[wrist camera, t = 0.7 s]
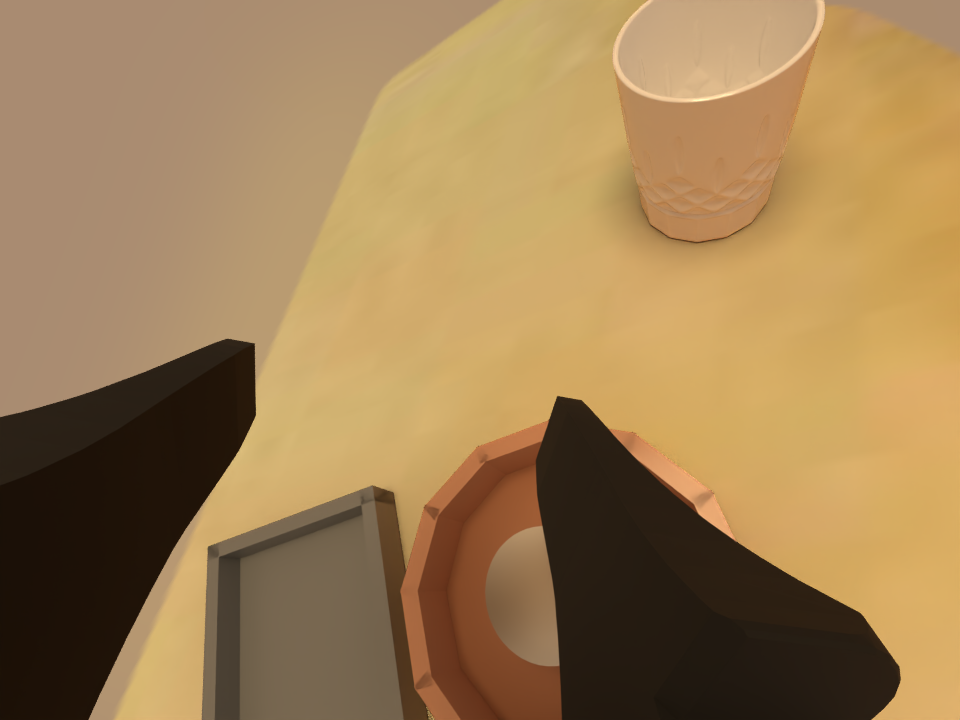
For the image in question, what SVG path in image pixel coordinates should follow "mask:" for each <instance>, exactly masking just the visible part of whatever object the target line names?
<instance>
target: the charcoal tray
mask: <svg viewBox="0 0 960 720" xmlns="http://www.w3.org/2000/svg"><path fill="white" fill-rule="evenodd" d="M405 574H406V573H405V566H404V560H403V553H402V546H401V540H400V533H399V527H398V520H397V514H396V507H395V501H394V494H393V492H390V491H387V490H384V489H381V488H378V487H376V486H370V487H367V488H364V489H362V490H359V491H356V492H354V493H351V494H348V495H346V496H343V497H340V498H338V499H335V500H332V501H329V502H327V503H324V504H321V505H319V506H316V507H313V508H311V509H308V510H305V511H303V512H300V513H297V514H294V515H292V516H289V517H286V518H284V519H281V520H278V521H276V522H273V523H270V524H268V525H265V526H262V527H260V528H257V529H254V530H251V531H249V532H246V533H243V534H241V535H238V536H235V537H233V538H230V539H227V540H225V541H222V542H219V543H216V544H214V545H211V546H208V560H207V588H206V616H205V644H204V672H203V700H202V720H428V716H427V710H426V704H425V703H424V701H423V700H422V698H421V697H420V695H419V694H418V692H417V691H416V690H415V688H414V679H413V672H412V665H411V658H410V652H409V645H408V638H407V631H406V624H405V617H404V610H403V604H402V597H401V593H400V591H401V590H400V589H401V588H402V584H403V581H404V577H405Z"/></svg>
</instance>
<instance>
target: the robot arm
mask: <svg viewBox="0 0 960 720" xmlns="http://www.w3.org/2000/svg"><path fill="white" fill-rule="evenodd" d="M255 416H256V397H255V344H254V343H248V342H243V341H237V340H232V339H225V340H222V341H219V342H216V343H214V344H211V345H208V346H206V347H204V348H201V349H199V350H196V351H194V352H192V353H189V354H187V355H185V356H182V357H180V358H177V359H175V360H173V361H170V362H168V363H166V364H163V365H161V366H158V367H156V368H153V369H151V370H149V371H146V372H144V373H141V374H138V375H136V376H133V377H130V378H128V379H125V380H122V381H119V382H117V383H114V384H111V385H109V386H106V387H103V388H101V389H98V390H95V391H92V392H89V393H86V394H83V395H80V396H77V397H74V398H71V399H67V400H64V401H60V402H57V403H53V404H50V405H46V406H43V407H40V408H36V409H32V410H29V411H25V412H21V413H16V414H12V415H8V416H4V417H0V720H88V719H89V717H90V715H91V713H92V710H93V708H94V706H95V704H96V702H97V699H98V697H99V695H100V693H101V691H102V689H103V687H104V685H105V682H106V680H107V678H108V676H109V674H110V672H111V670H112V668H113V666H114V664H115V661H116V659H117V657H118V655H119V653H120V651H121V649H122V647H123V645H124V643H125V641H126V638H127V636H128V634H129V633H130V630H131V629H132V626H133V625H134V623H135V621H136V619H137V617H138V615H139V613H140V611H141V609H142V607H143V605H144V603H145V601H146V599H147V597H148V595H149V593H150V591H151V589H152V587H153V585H154V584H155V582H156V580H157V578H158V576H159V574H160V573H161V571H162V569H163V567H164V565H165V563H166V562H167V559H168V558H169V556H170V554H171V552H172V550H173V549H174V547H175V545H176V544H177V542H178V540H179V539H180V537H181V536H182V534H183V533H184V531H185V529H186V528H187V526H188V525H189V524H190V522H191V521H192V519H193V518H194V516H195V515H196V513H197V512H198V510H199V509H200V507H201V506H202V504H203V503H204V502H205V500H206V499H207V497H208V496H209V494H210V493H211V491H212V490H213V488H214V487H215V486H216V484H217V483H218V481H219V480H220V478H221V477H222V475H223V474H224V472H225V471H226V469H227V468H228V466H229V465H230V463H231V462H232V460H233V459H234V457H235V456H236V454H237V453H238V451H239V449H240V447H241V445H242V443H243V441H244V439H245V437H246V435H247V433H248V431H249V429H250V427H251V425H252V423H253V421H254V418H255ZM536 485H537V498H538V505H539V510H540V516H541V522H542V527H543V533H544V538H545V543H546V549H547V554H548V560H549V565H550V571H551V576H552V582H553V589H554V597H555V608H556V621H557V634H558V650H559V667H560V685H561V711H562V720H871V719H873V718H874V717H875V716H876V715H877V714H878V713H879V712H881V711H882V710H883V709H884V708H885V707H886V706H887V704H888V703H889V702H890V701H891V700H892V699H893V698H894V696H895V694H896V691H897V689H898V687H899V684H900V680H901V677H900V669H899V666H898V664H897V663H896V662H895V660H894V659H893V657H892V656H891V655H890V653H889V652H888V650H887V649H886V648H885V646H884V645H883V643H882V642H881V641H880V639H879V638H878V636H877V635H876V634H875V632H874V631H873V629H872V628H871V626H870V625H869V624H868V622H867V621H866V619H865V618H864V617H863V615H862V614H861V613H859V612H857V611H856V610H854V609H852V608H850V607H848V606H846V605H844V604H842V603H840V602H839V601H837V600H835V599H833V598H831V597H829V596H827V595H825V594H824V593H822V592H820V591H818V590H816V589H814V588H812V587H810V586H808V585H807V584H805V583H803V582H801V581H799V580H797V579H796V578H794V577H792V576H791V575H789V574H787V573H786V572H784V571H782V570H781V569H779V568H777V567H776V566H774V565H772V564H771V563H769V562H767V561H766V560H764V559H762V558H761V557H759V556H758V555H756V554H755V553H753V552H751V551H750V550H748V549H747V548H745V547H744V546H742V545H741V544H739V543H738V542H736V541H735V540H734V539H732V538H731V537H729V536H728V535H726V534H725V533H724V532H722V531H721V530H719V529H718V528H716V527H715V526H714V525H712V524H711V523H710V522H708V521H707V520H706V519H704V518H703V517H702V516H700V515H699V514H698V513H696V512H695V511H694V510H693V509H692V508H690V507H689V506H688V505H687V504H685V503H684V502H683V501H682V500H681V499H679V498H678V497H677V496H676V495H674V494H673V493H672V492H671V491H670V490H669V489H668V488H666V487H665V486H664V485H663V484H662V483H661V482H660V481H659V480H658V479H657V478H656V477H655V476H653V475H652V474H651V473H650V472H649V471H648V470H647V469H646V468H645V467H644V466H643V465H642V464H641V463H640V462H639V461H638V460H637V459H636V458H635V457H634V456H633V455H632V454H631V453H630V452H629V451H628V450H627V449H626V448H625V447H624V445H623V444H622V443H621V442H620V441H619V440H618V439H617V438H616V437H615V436H614V435H613V434H612V432H611V431H610V430H609V429H608V428H607V427H606V426H605V425H604V424H603V422H602V421H601V420H600V419H599V418H598V417H597V416H596V415H595V414H594V413H593V411H592V410H591V409H590V408H589V407H588V406H587V405H586V404H585V403H584V402H583V401H582V400H577V399H571V398H565V397H560V396H557V399H556V402H555V404H554V407H553V410H552V413H551V416H550V419H549V422H548V425H547V428H546V431H545V434H544V437H543V440H542V443H541V446H540V449H539V452H538V455H537V458H536Z"/></svg>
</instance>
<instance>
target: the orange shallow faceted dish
mask: <svg viewBox="0 0 960 720" xmlns="http://www.w3.org/2000/svg"><path fill="white" fill-rule="evenodd" d="M548 422H549V420H548V421H546V422H543V423H541V424H538V425H535V426H533V427H530V428H527V429H524V430H522V431H519V432H516V433H514V434H511V435H508V436H506V437H503V438H500V439H498V440H495V441H492V442H489V443H487V444H484V445H481V446H478V447H476V449H475V450H474V451H473V452H472V454H471V455H470V456H469V457H468V458H467V459H466V460H465V461H464V463H463V464H462V465H461V466H460V467H459V468H458V469H457V470H456V472H455V473H454V474H453V475H452V476H451V477H450V478H449V480H448V481H447V482H446V483H445V484H444V485H443V486H442V487H441V489H440V490H439V491H438V492H437V493H436V494H435V495H434V496H433V498H432V499H431V500H430V501H429V502H428V503H427V504H426V505H425V507H424V510H423V514H422V517H421V521H420V524H419V528H418V531H417V535H416V538H415V542H414V545H413V549H412V552H411V556H410V559H409V563H408V567H407V570H406V574H405V577H404V581H403V584H402V588H401V589H400V590H401V591H400V593H401V597H402V604H403V610H404V617H405V624H406V631H407V638H408V645H409V652H410V658H411V665H412V672H413V679H414V688H415V690H416V691H417V692H418V694H419V695H420V697H421V698H422V700H423V701H424V703H425V704H426V706H427V707H428V709H429V710H430V712H431V713H432V715H433V716H434V718H435V719H436V720H562V711H561V685H560V667H559V666H542V665H537V664H533V663H530V662H528V661H526V660H524V659H522V658H520V657H519V656H517V655H516V654H515V653H513V652H512V651H511V650H510V649H509V648H508V647H507V646H506V645H505V644H504V643H503V642H502V640H501V639H500V638H499V636H498V635H497V633H496V631H495V629H494V628H493V625H492V623H491V621H490V618H489V615H488V611H487V606H486V598H485V586H486V578H487V573H488V570H489V567H490V564H491V562H492V560H493V558H494V556H495V554H496V553H497V551H498V550H499V548H500V547H501V546H502V545H503V544H504V543H505V542H506V541H507V540H508V539H509V538H510V537H512V536H513V535H515V534H516V533H518V532H520V531H522V530H525V529H528V528H532V527H538V526H542V522H541V516H540V510H539V505H538V498H537V485H536V458H537V455H538V452H539V449H540V446H541V443H542V440H543V437H544V434H545V431H546V428H547V425H548ZM609 430H610V431H611V432H612V434H613V435H614V436H615V437H616V438H617V439H618V440H619V441H620V442H621V443H622V444H623V445H624V447H625V448H626V449H627V450H628V451H629V452H630V453H631V454H632V455H633V456H634V457H635V458H636V459H637V460H638V461H639V462H640V463H641V464H642V465H643V466H644V467H645V468H646V469H647V470H648V471H649V472H650V473H651V474H652V475H653V476H655V477H656V478H657V479H658V480H659V481H660V482H661V483H662V484H663V485H664V486H665V487H666V488H668V489H669V490H670V491H671V492H672V493H673V494H674V495H676V496H677V497H678V498H679V499H681V500H682V501H683V502H684V503H685V504H687V505H688V506H689V507H690V508H692V509H693V510H694V511H695V512H696V513H698V514H699V515H700V516H702V517H703V518H704V519H706V520H707V521H708V522H710V523H711V524H712V525H714V526H715V527H716V528H718V529H719V530H721V531H722V532H724V533H725V534H726V535H728V536H729V537H731V538H732V539H734V540H735V538H734V536H733V534H732V532H731V530H730V528H729V526H728V524H727V522H726V519H725V517H724V515H723V513H722V511H721V509H720V507H719V505H718V503H717V501H716V499H715V497H714V493H713V492H712V490H709V489H708V488H707V487H705V486H704V485H703V484H701V483H700V482H699V481H697V480H696V479H695V478H693V477H692V476H691V475H689V474H688V473H687V472H685V471H684V470H683V469H681V468H680V467H679V466H677V465H676V464H675V463H673V462H672V461H671V460H669V459H668V458H667V457H665V456H664V455H663V454H661V453H660V452H659V451H657V450H656V449H655V448H653V447H652V446H651V445H649V444H648V443H647V442H645V441H644V440H643V439H641V438H640V437H639V436H637V435H636V433H633V432H626V431H619V430H613V429H609ZM735 541H736V540H735Z"/></svg>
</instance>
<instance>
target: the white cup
mask: <svg viewBox="0 0 960 720" xmlns="http://www.w3.org/2000/svg"><path fill="white" fill-rule="evenodd" d="M824 18H825V4H824V0H648V1H647V2H645V3H644V4H643V5H642V6H641V7H639V8H638V9H637V10H636V11H635V12H634V13H633V14H632V15H631V17H630V18H629V19H628V20H627V21H626V23H625V24H624V26H623V27H622V29H621V30H620V32H619V34H618V36H617V38H616V41H615V44H614V48H613V66H614V71H615V77H616V82H617V87H618V93H619V98H620V103H621V109H622V115H623V120H624V126H625V131H626V137H627V142H628V146H629V151H630V155H631V159H632V165H633V170H634V174H635V178H636V182H637V185H638V187H639V193H640V199H641V204H642V207H643V209H644V212H645V214H646V216H647V218H648V220H649V223H650V224H651V225H652V226H654V227H655V228H657V229H658V230H660V231H661V232H662V233H664V234H665V235H667V236H668V237H670V238H676V239H681V240H687V241H693V242H701V241H707V240H712V239H718V238H724V237H727V236H729V235H731V234H733V233H734V232H736V231H738V230H740V229H741V228H743V227H745V226H747V225H748V224H750V223H752V222H753V220H754V219H755V218H756V216H757V215H758V214H759V212H760V211H761V210H762V208H763V207H764V206H765V204H766V203H767V201H768V198H769V195H770V191H771V188H772V184H773V180H774V177H775V173H776V171H777V169H778V167H779V164H780V162H781V160H782V157H783V154H784V151H785V148H786V144H787V141H788V137H789V135H790V132H791V130H792V127H793V124H794V120H795V117H796V114H797V111H798V107H799V104H800V100H801V97H802V93H803V90H804V86H805V83H806V80H807V76H808V73H809V69H810V66H811V63H812V59H813V56H814V53H815V49H816V46H817V43H818V39H819V36H820V33H821V29H822V26H823V23H824Z"/></svg>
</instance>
